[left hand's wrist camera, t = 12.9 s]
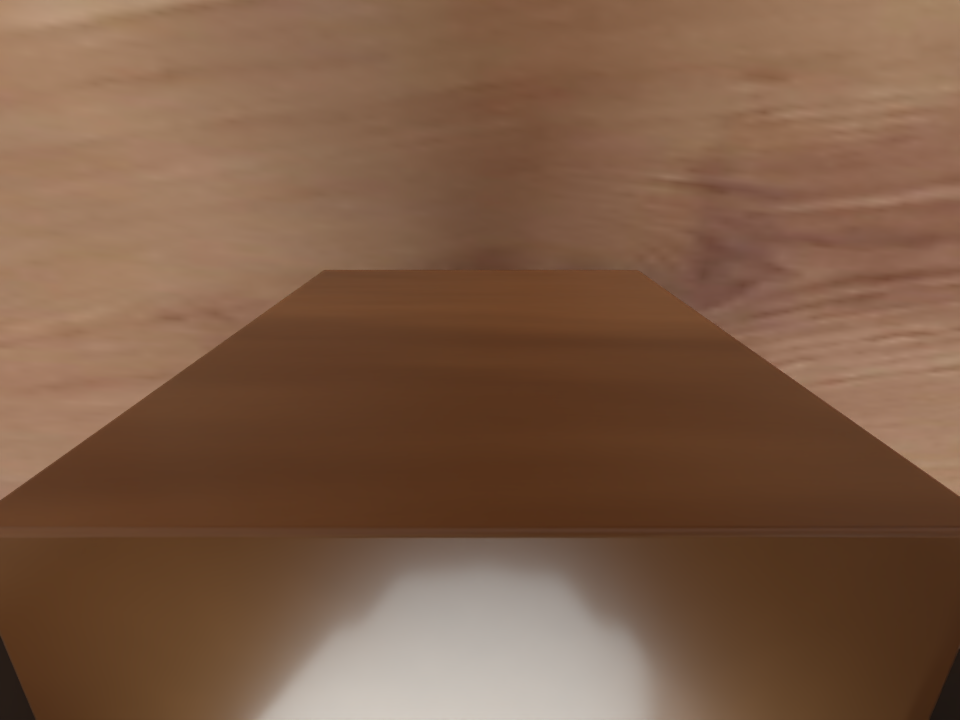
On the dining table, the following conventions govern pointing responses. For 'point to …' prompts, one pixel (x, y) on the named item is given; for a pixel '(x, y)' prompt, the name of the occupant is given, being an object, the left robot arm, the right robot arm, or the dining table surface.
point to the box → (481, 524)
